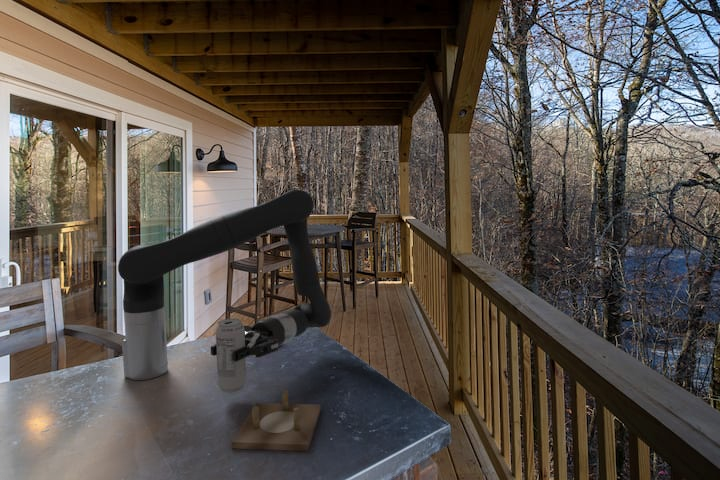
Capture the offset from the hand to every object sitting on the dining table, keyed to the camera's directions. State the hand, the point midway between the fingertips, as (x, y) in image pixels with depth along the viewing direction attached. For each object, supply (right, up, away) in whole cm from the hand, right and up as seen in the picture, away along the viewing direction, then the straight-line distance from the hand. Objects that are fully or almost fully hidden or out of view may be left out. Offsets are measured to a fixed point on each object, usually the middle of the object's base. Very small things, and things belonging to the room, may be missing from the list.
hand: (222, 354), depth 87 cm
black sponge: (-4, -8, +40) cm, 41 cm away
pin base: (+14, -12, -7) cm, 20 cm away
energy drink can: (+1, -8, +3) cm, 9 cm away
